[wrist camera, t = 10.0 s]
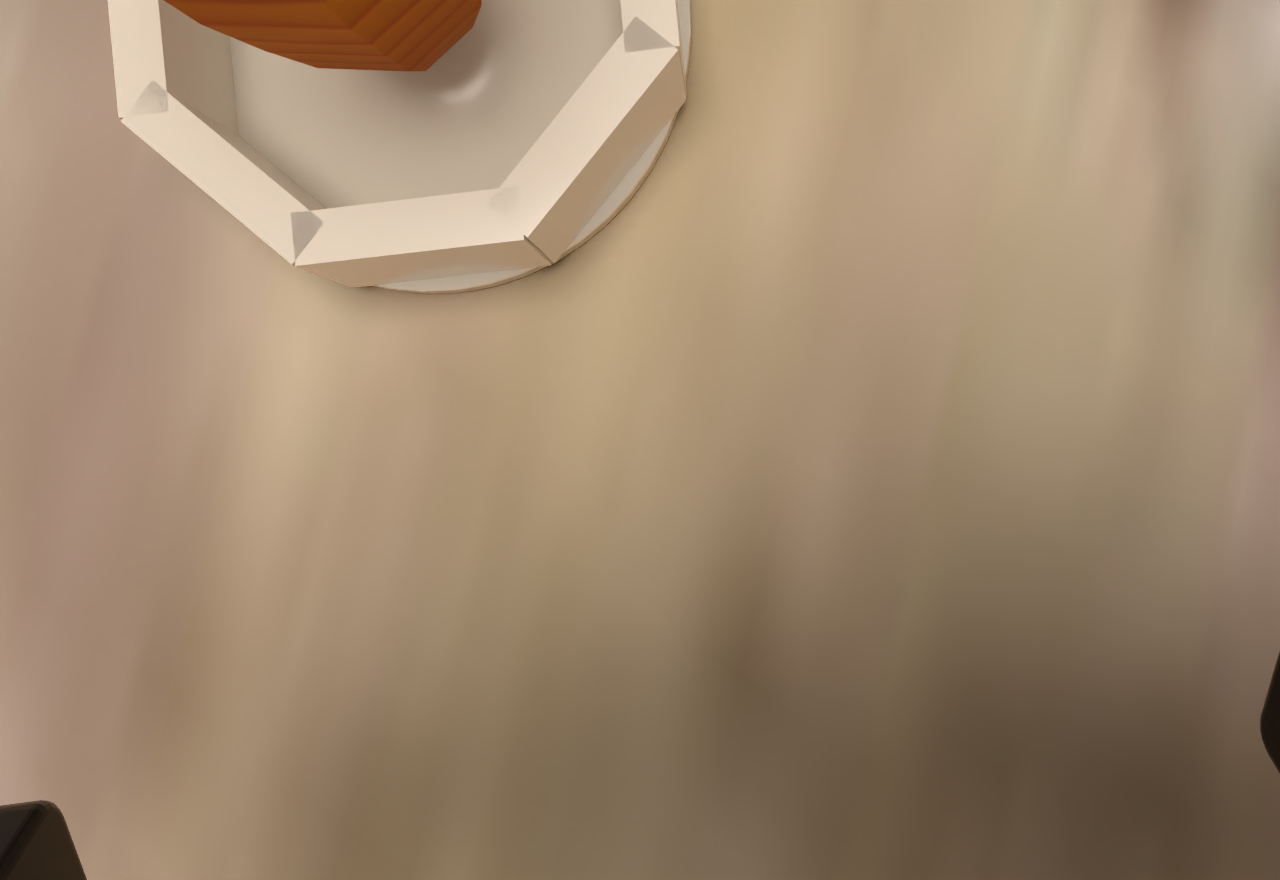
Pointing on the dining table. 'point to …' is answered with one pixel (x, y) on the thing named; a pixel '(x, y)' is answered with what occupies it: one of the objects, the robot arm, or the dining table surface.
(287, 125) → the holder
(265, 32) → the carrot
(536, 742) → the dining table surface
